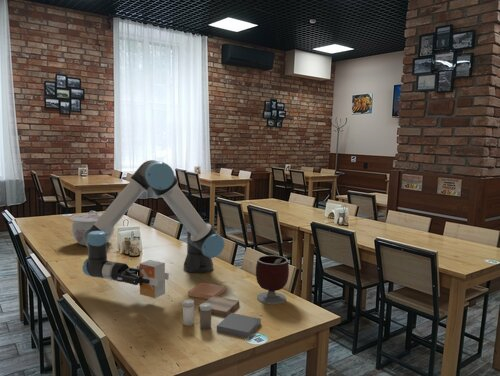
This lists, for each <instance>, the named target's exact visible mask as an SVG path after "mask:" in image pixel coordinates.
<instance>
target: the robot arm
mask: <svg viewBox="0 0 500 376" xmlns="http://www.w3.org/2000/svg"><path fill="white" fill-rule="evenodd" d="M178 184H179V180H178V179H177V177H176V176H175V173H174V170H173V168H172V167H171V166H170V165H169V164H168V163H165V162H164V161H158V160H155V159H149V160H146V161H144V162H142V164H140V166H139V167H138V168H137V169H136V170H135V172H134V173H133V175H131V176H130V178H129V182H128V184H127V185H126V186H125V187H124V188H123V189H122V190H121V192H120V193H119V194H118V195H117V197H116V198H115V199H114V200H113V201H112V202H111V203H110V205H109V206H108V207H107V208H106V209H105V210H104V211H103V212H102V213H103V214H102V215H101V216H100V218H99V219H98V220H97V221H96V222H95V224H94V225H93V226H92V227H91V228H90V229H87V230H86V231H85V232H84V234H83V241H84V243H85V244H86V246H85V247H86V248H87V258H86V259H85V260H84V261H83V265H82V272H83V273H84V274H85V275H86V276H88V277H92V278H99V279H105V280H109V281H116V282H120V283H125V284H129V285H134V286H138V285H139V287H140V286H142V283H143V284H148V285H154V286H158V279H157V278H151V277H145V276H144V277H143V278H142V277H140V265H136V267H135V268H134V267H130V266H129V265H128V264H127V263H124V262H118V261H112V260H108V254H107V252H108V251H107V244H108V242H106V241H107V239H106V235H107V234H108V233H109V232H110V231H111V229H112V228H113V227H114V228H115V226H116V225H117V224H118V222H119V221H120V220H121V219H122V218H123V216H125V214H126V213H127V212H128V211H129V209H130V208H131V207H132V206H133V205H134V203H135V202H136V201H137V200H138V199H139V198H140V196H141V195H142V194H143V193H145V192H148V190H150V189H151V190H152V191H153V193H154V194H155V195H156V196H157V197H161V198H163V199H162V200H164V202H165V203H166V204H167V205H168V207H169V208H170V210H172V212H173V213H174V214H175V215H176V217H177V218H178V220H179V221H180V222H181V224H182V225H183V226H184V227H185V229H186V230H187V232H186V233H187V234H186V237H187V238H186V240H187V241H186V247H187V249H186V250H187V251H186V257H185V260H184V262H183V270H184V271H186V272H188V273H193V274H196V273H197V274H202V273H208V272H211V271H213V270H214V263H213V259H214V258H217V257H218V256H220V255H221V254H222V253H223V251H224V249H225V240H224V238H223V237H222V236H221V235H220V234H219V233H217V231H216V230H215V229H214V228H213V226H212V225H211V224H210V223H206V222H205V221H204V220H203V218H202V217H201V215H200V214H199V213H198V212H197V210H196V209H195V207H194V205H192V203H191V201H190V200H189V199H188V197H187V196H186V195H185V194H184V192H183V191H182V190H181V188H180V187H179V186H178ZM169 275H170V273H169V272H168V271H165V281H166V280H167V281H169V280H170V276H169Z"/></svg>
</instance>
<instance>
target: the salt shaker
mask: <svg viewBox="0 0 500 376" xmlns="http://www.w3.org/2000/svg"><path fill="white" fill-rule="evenodd" d="M194 324H195V300H193V299H185V300H183V301H182V325H183V326H186V327H190V326H194Z"/></svg>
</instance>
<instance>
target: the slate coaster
mask: <svg viewBox="0 0 500 376" xmlns="http://www.w3.org/2000/svg"><path fill="white" fill-rule="evenodd" d="M261 321H262V319H261V318H260V317H254V316H249V315H244V314H239V313H234V312H231V313H230V314H229V315H228V316H227V317H224V318H223V319H222V320H221V322H218V324H217V325H216V332H218V333H224V334H229V335H233V336H236V337H241V338H247V339H248V338H249V337H251V336H252V334H253V333H254V332H255V331H256V330H257V329H258V327H259V326H260V325H261Z"/></svg>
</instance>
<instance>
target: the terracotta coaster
mask: <svg viewBox="0 0 500 376" xmlns="http://www.w3.org/2000/svg"><path fill="white" fill-rule="evenodd" d="M224 292H226V286H224V285H219V284H215V283H207V282H203V281H202V282H200V283H198V284H196V285H195V286H193V287H192V288H190V289H189V290H187V296H189V297H194V298H199V299H203V300H204V299H205V300H208V299H209V298H210V297H212V296H217V297H220V296H221V295H222V294H223V293H224Z"/></svg>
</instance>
